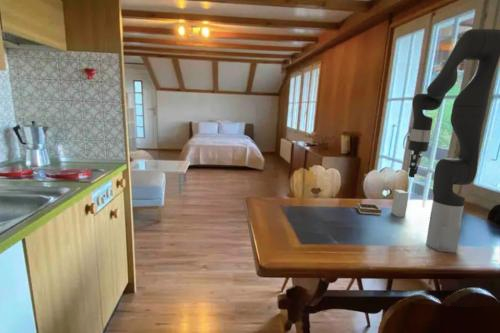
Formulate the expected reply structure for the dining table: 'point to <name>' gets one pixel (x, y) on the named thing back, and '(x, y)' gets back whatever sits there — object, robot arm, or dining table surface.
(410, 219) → the dining table surface
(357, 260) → the dining table surface
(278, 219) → the dining table surface
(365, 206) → the open birch box
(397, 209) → the skincare box
